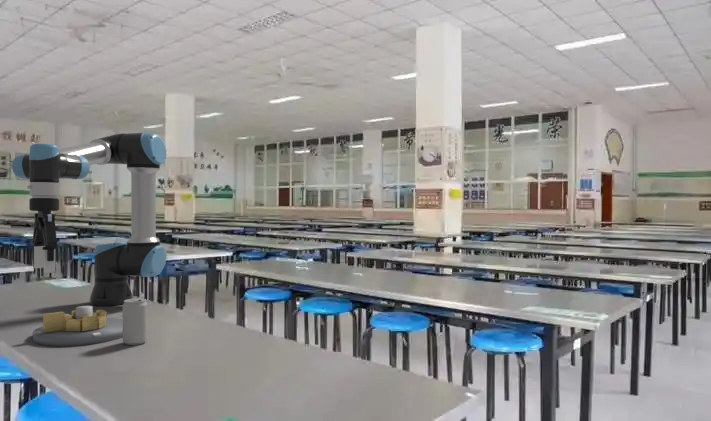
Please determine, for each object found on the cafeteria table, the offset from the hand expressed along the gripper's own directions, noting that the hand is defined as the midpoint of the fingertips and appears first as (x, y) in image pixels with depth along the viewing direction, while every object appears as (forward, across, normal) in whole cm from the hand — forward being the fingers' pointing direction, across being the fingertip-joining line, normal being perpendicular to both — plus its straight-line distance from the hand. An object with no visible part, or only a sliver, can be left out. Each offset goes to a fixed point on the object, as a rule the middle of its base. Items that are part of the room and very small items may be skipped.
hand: (44, 270), depth 157 cm
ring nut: (+17, +6, +7) cm, 19 cm away
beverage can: (+19, +25, +17) cm, 36 cm away
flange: (+19, +6, +9) cm, 22 cm away
